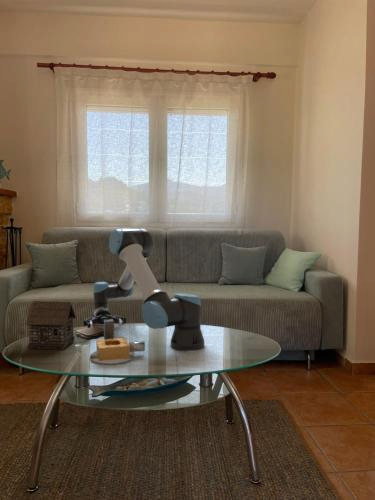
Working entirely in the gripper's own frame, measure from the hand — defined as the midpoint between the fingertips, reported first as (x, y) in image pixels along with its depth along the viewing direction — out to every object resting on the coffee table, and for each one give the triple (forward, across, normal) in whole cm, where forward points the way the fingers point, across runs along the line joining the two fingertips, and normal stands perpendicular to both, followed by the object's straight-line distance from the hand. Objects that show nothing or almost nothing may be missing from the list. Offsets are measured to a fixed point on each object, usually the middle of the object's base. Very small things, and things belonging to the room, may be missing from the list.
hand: (106, 326), depth 195 cm
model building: (-1, +24, -7) cm, 25 cm away
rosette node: (+24, -2, -7) cm, 25 cm away
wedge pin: (+10, 0, -7) cm, 12 cm away
